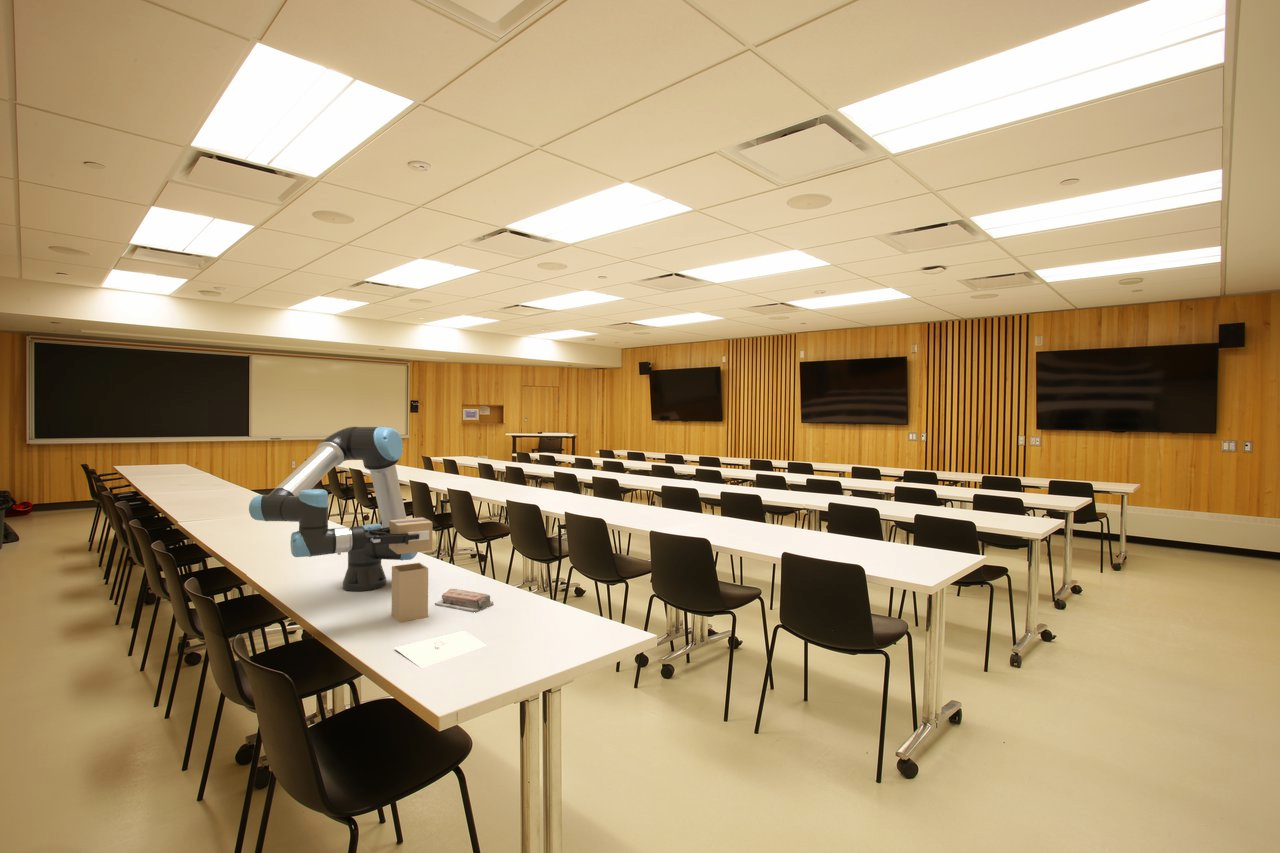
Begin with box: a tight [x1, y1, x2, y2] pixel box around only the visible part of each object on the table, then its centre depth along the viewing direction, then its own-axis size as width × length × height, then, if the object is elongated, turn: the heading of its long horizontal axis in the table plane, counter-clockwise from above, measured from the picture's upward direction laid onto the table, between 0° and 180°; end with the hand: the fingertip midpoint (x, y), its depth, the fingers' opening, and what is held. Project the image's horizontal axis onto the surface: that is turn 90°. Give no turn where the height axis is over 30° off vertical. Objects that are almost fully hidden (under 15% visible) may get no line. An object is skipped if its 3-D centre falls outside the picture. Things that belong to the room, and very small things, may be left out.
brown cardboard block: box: [389, 516, 434, 554], centre depth 192 cm, size 11×11×9 cm
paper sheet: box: [394, 630, 488, 669], centre depth 164 cm, size 24×29×1 cm
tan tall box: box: [391, 562, 429, 623], centre depth 195 cm, size 9×9×16 cm
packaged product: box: [434, 588, 494, 614], centre depth 207 cm, size 18×5×10 cm
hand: (423, 532), depth 195 cm, fingers closed on brown cardboard block, 11 cm apart
